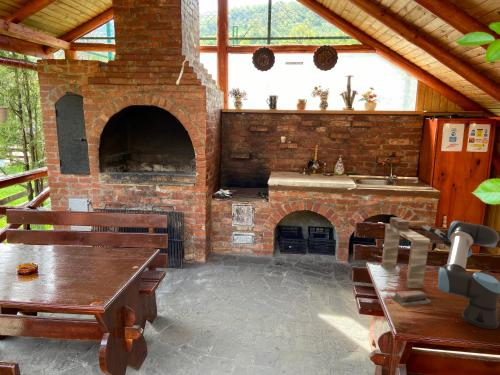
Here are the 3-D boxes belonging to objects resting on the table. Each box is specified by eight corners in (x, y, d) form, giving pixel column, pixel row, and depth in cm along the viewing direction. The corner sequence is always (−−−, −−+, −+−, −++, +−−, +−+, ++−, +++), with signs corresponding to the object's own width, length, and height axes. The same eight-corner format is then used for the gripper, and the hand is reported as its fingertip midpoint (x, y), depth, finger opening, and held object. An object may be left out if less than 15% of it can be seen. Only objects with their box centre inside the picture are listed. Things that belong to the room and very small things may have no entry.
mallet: (429, 229, 222) (430, 221, 221) (397, 229, 218) (398, 221, 218) (420, 224, 231) (421, 217, 231) (389, 224, 228) (390, 217, 227)
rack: (423, 287, 207) (430, 239, 201) (407, 287, 205) (414, 239, 200) (394, 265, 238) (399, 223, 232) (380, 266, 236) (385, 223, 231)
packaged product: (404, 298, 183) (392, 289, 192) (403, 307, 184) (391, 297, 193) (432, 295, 187) (419, 287, 197) (431, 303, 188) (418, 295, 198)
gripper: (462, 254, 220) (438, 238, 215) (436, 241, 244) (414, 226, 240) (469, 244, 219) (445, 228, 215) (442, 232, 244) (420, 217, 239)
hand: (429, 227), depth 227 cm, fingers open, 13 cm apart
